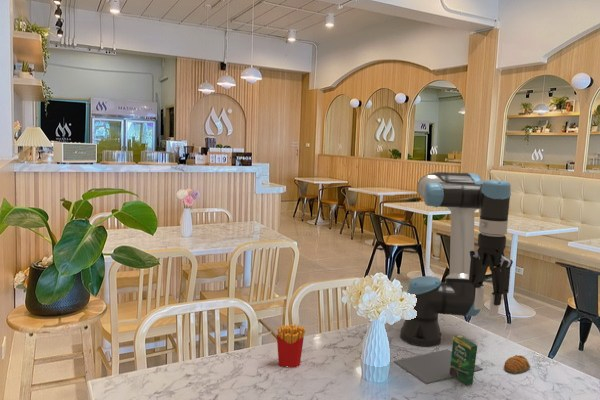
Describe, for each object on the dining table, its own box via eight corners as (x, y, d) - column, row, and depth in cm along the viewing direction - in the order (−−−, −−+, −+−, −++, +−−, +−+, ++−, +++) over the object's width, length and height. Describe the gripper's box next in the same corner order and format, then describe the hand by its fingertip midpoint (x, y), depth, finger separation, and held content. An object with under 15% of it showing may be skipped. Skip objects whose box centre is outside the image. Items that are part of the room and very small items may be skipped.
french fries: (275, 367, 152) (277, 328, 150) (276, 361, 156) (277, 323, 155) (304, 367, 152) (305, 329, 151) (303, 361, 157) (305, 324, 155)
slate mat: (393, 362, 158) (393, 360, 158) (447, 350, 169) (447, 349, 169) (426, 384, 144) (426, 383, 144) (482, 369, 155) (482, 368, 155)
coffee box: (447, 372, 151) (452, 334, 149) (454, 371, 152) (459, 333, 150) (465, 386, 144) (471, 346, 141) (473, 385, 145) (478, 345, 142)
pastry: (518, 377, 151) (519, 366, 151) (498, 369, 156) (499, 358, 156) (531, 369, 157) (532, 358, 157) (511, 362, 162) (512, 351, 162)
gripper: (459, 229, 142) (453, 303, 145) (509, 241, 126) (502, 324, 129) (477, 227, 145) (471, 300, 148) (528, 239, 129) (520, 320, 132)
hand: (485, 311), depth 138 cm, fingers open, 5 cm apart
